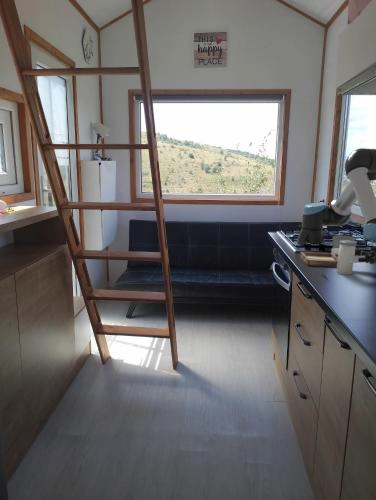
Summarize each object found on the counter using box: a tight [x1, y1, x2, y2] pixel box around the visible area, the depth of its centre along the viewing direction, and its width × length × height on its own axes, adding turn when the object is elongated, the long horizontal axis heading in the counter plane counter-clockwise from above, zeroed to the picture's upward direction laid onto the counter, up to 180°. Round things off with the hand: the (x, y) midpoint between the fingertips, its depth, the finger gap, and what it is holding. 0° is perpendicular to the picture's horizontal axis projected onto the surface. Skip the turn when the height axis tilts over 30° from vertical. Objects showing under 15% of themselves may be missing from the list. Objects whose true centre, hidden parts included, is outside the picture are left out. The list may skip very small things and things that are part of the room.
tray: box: [299, 251, 338, 268], centre depth 189 cm, size 16×16×2 cm
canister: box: [335, 240, 358, 276], centre depth 171 cm, size 7×7×14 cm
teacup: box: [332, 234, 355, 249], centre depth 211 cm, size 14×11×8 cm
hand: (341, 255), depth 170 cm, fingers open, 13 cm apart
